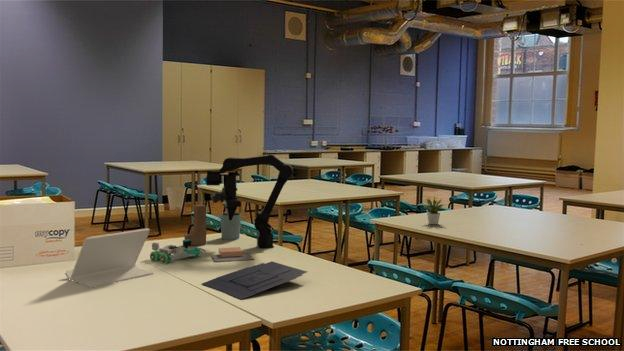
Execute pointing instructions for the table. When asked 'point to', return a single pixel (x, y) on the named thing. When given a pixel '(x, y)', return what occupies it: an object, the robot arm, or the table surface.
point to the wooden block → (198, 226)
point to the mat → (232, 258)
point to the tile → (230, 252)
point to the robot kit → (174, 252)
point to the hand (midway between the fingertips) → (230, 220)
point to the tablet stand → (109, 258)
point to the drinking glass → (230, 226)
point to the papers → (254, 279)
